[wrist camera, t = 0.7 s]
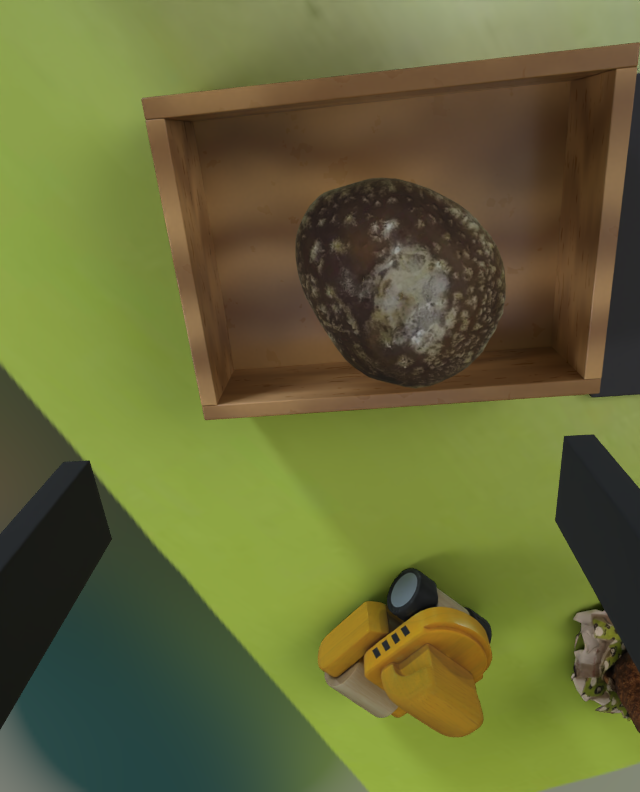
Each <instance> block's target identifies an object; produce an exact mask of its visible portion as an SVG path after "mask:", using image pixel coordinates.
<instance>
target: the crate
mask: <svg viewBox="0 0 640 792" xmlns="http://www.w3.org/2000/svg"><path fill="white" fill-rule="evenodd" d="M639 48H640V43H639V42H637V43H628V44H619V45H610V46H601V47H593V48H584V49H575V50H566V51H557V52H548V53H539V54H530V55H521V56H512V57H503V58H494V59H485V60H477V61H468V62H459V63H450V64H441V65H432V66H423V67H414V68H405V69H396V70H387V71H378V72H370V73H361V74H352V75H343V76H334V77H325V78H316V79H307V80H298V81H289V82H280V83H271V84H263V85H254V86H245V87H236V88H227V89H218V90H209V91H200V92H191V93H182V94H173V95H164V96H155V97H147V98H142V99H141V100H142V105H143V110H144V116H145V119H146V126H147V131H148V136H149V141H150V146H151V151H152V157H153V162H154V167H155V172H156V177H157V182H158V187H159V192H160V197H161V202H162V207H163V212H164V217H165V222H166V227H167V232H168V237H169V242H170V248H171V253H172V258H173V263H174V268H175V273H176V278H177V283H178V288H179V293H180V298H181V303H182V308H183V313H184V318H185V323H186V328H187V333H188V339H189V344H190V349H191V354H192V359H193V364H194V369H195V374H196V379H197V384H198V389H199V394H200V399H201V404H202V409H203V414H204V419H205V420H214V419H229V418H244V417H259V416H273V415H288V414H303V413H318V412H333V411H347V410H362V409H377V408H392V407H407V406H421V405H436V404H451V403H466V402H481V401H495V400H510V399H525V398H540V397H555V396H569V395H584V394H598V393H600V384H601V377H602V368H603V360H604V351H605V342H606V334H607V325H608V317H609V308H610V299H611V291H612V282H613V274H614V265H615V256H616V248H617V239H618V231H619V222H620V213H621V205H622V196H623V187H624V179H625V170H626V162H627V153H628V144H629V136H630V127H631V119H632V110H633V101H634V93H635V84H636V76H637V67H636V66H637V65H638V57H639ZM370 178H396V179H400V180H404V181H408V182H412V183H415V184H418V185H421V186H423V187H426V188H429V189H431V190H433V191H435V192H437V193H439V194H441V195H443V196H445V197H447V198H449V199H451V200H452V201H454V202H456V203H458V204H459V205H461V206H462V207H463V208H465V209H466V210H468V211H469V212H470V213H471V215H472V216H473V217H475V218H476V219H477V220H478V221H479V223H480V224H481V226H482V227H483V228H484V229H485V230H486V231H487V232H488V233H489V235H490V236H491V237H492V239H493V241H494V242H495V244H496V245H497V248H498V250H499V253H500V255H501V258H502V261H503V265H504V270H505V282H506V299H505V303H504V307H503V315H502V316H501V318H500V320H499V322H498V325H497V328H496V330H495V332H494V333H493V335H492V336H491V338H490V339H489V341H488V343H487V345H486V347H485V348H484V350H483V352H482V353H481V354H480V356H479V357H478V358H476V359H475V360H474V361H473V362H472V363H471V364H470V365H469V366H468V367H467V368H465V369H464V370H462V371H461V372H459V373H458V374H456V375H454V376H452V377H450V378H448V379H446V380H444V381H442V382H440V383H437V384H434V385H431V386H428V387H419V388H416V389H415V388H410V387H403V386H400V385H396V384H391V383H387V382H383V381H379V380H376V379H373V378H369V377H368V376H366V375H365V374H363V373H362V372H360V371H359V370H357V369H356V368H354V367H353V366H352V365H351V364H349V363H348V362H347V361H346V360H345V358H344V357H343V356H342V355H341V353H340V352H339V351H338V349H337V348H336V347H335V345H334V344H333V342H332V341H331V339H330V338H329V336H328V335H327V333H326V331H325V330H324V328H323V327H322V325H321V323H320V322H319V320H318V318H317V317H316V315H315V313H314V311H313V309H312V308H311V306H310V304H309V302H308V300H307V299H306V297H305V294H304V292H303V289H302V286H301V283H300V280H299V276H298V271H297V264H296V257H295V241H296V235H297V231H298V228H299V225H300V223H301V221H302V218H303V216H304V215H305V213H306V211H307V209H308V208H309V206H310V205H311V204H312V203H313V202H314V201H315V200H316V199H317V197H318V196H320V195H321V194H323V193H324V192H327V191H329V190H332V189H336V188H339V187H342V186H346V185H349V184H352V183H356V182H359V181H362V180H366V179H370Z"/></svg>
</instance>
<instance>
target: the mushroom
mask: <svg viewBox="0 0 640 792" xmlns="http://www.w3.org/2000/svg"><path fill="white" fill-rule="evenodd" d="M295 257H296V264H297V271H298V276H299V280H300V283H301V286H302V289H303V292H304V294H305V297H306V299H307V300H308V302H309V304H310V306H311V308H312V309H313V311H314V313H315V315H316V317H317V318H318V320H319V322H320V323H321V325H322V327H323V328H324V330H325V331H326V333H327V335H328V336H329V338H330V339H331V341H332V342H333V344H334V345H335V347H336V348H337V349H338V351H339V352H340V353H341V355H342V356H343V357H344V358H345V360H346V361H347V362H348V363H349V364H351V365H352V366H353V367H354V368H356V369H357V370H359V371H360V372H362V373H363V374H365V375H366V376H368V377H369V378H373V379H376V380H379V381H383V382H387V383H391V384H396V385H400V386H403V387H410V388H415V389H416V388H419V387H428V386H431V385H434V384H437V383H440V382H442V381H444V380H446V379H448V378H450V377H452V376H454V375H456V374H458V373H459V372H461V371H462V370H464V369H465V368H467V367H468V366H469V365H470V364H471V363H472V362H473V361H474V360H475V359H476V358H478V357H479V356H480V354H481V353H482V352H483V350H484V348H485V347H486V345H487V343H488V341H489V339H490V338H491V336H492V335H493V333H494V332H495V330H496V328H497V325H498V322H499V320H500V318H501V316H502V315H503V307H504V303H505V299H506V282H505V270H504V265H503V261H502V258H501V255H500V253H499V250H498V248H497V245H496V244H495V242H494V241H493V239H492V237H491V236H490V235H489V233H488V232H487V231H486V230H485V229H484V228H483V227H482V226H481V224H480V223H479V221H478V220H477V219H476V218H475V217H473V216H472V215H471V213H470V212H469V211H468V210H466V209H465V208H463V207H462V206H461V205H459V204H458V203H456V202H454V201H452V200H451V199H449V198H447V197H445V196H443V195H441V194H439V193H437V192H435V191H433V190H431V189H429V188H426V187H423V186H421V185H418V184H415V183H412V182H408V181H404V180H400V179H396V178H370V179H366V180H362V181H359V182H356V183H352V184H349V185H346V186H342V187H339V188H336V189H332V190H329V191H327V192H324V193H323V194H321V195H320V196H318V197H317V199H316V200H315V201H314V202H313V203H312V204H311V205H310V206H309V208H308V209H307V211H306V213H305V215H304V216H303V218H302V221H301V223H300V225H299V228H298V231H297V235H296V241H295Z"/></svg>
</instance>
